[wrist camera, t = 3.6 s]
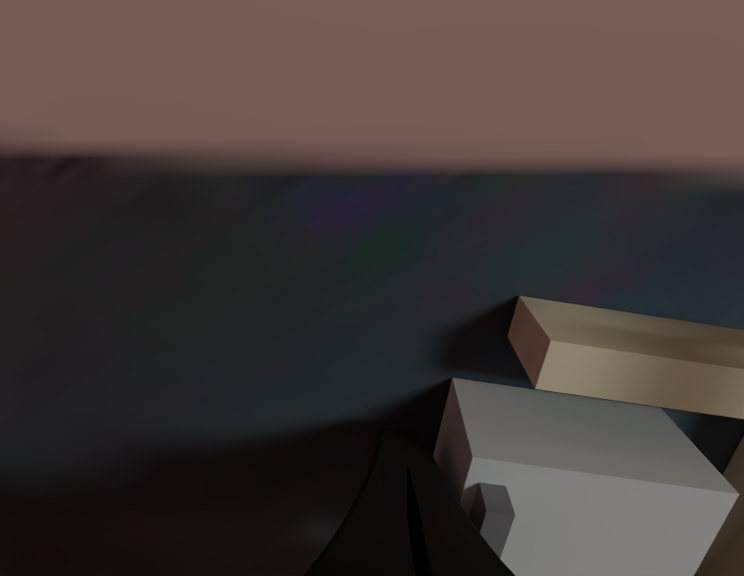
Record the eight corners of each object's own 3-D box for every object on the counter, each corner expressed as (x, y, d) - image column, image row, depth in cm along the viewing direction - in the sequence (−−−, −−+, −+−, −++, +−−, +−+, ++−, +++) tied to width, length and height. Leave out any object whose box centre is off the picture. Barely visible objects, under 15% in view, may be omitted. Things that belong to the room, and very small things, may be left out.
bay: (838, 344, 13) (941, 399, 10) (692, 599, 16) (744, 683, 14) (519, 295, 12) (551, 340, 10) (441, 566, 16) (451, 646, 14)
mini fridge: (660, 407, 13) (766, 524, 10) (607, 525, 15) (682, 663, 11) (452, 377, 13) (479, 484, 10) (421, 500, 15) (435, 633, 11)
